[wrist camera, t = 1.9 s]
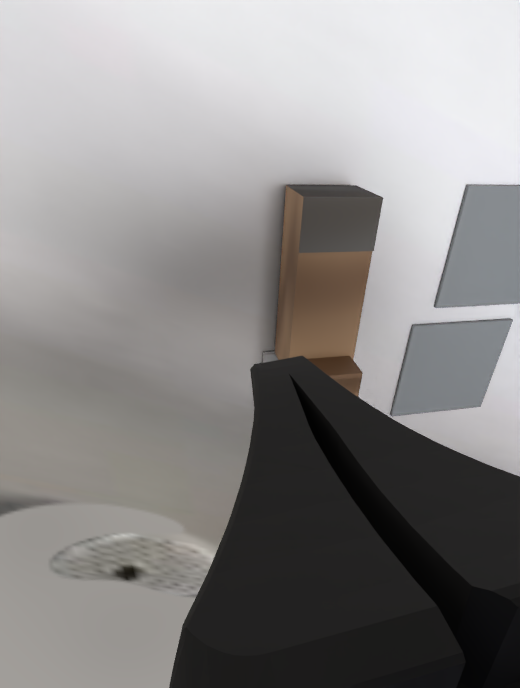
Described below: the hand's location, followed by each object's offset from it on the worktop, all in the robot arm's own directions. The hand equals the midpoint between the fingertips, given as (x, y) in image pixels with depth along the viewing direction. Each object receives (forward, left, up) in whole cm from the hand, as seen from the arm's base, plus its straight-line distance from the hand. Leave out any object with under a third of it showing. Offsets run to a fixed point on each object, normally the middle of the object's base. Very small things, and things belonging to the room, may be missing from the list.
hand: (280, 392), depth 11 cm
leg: (-3, -4, -9) cm, 10 cm away
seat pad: (0, -14, -9) cm, 17 cm away
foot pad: (-7, -13, -9) cm, 17 cm away
